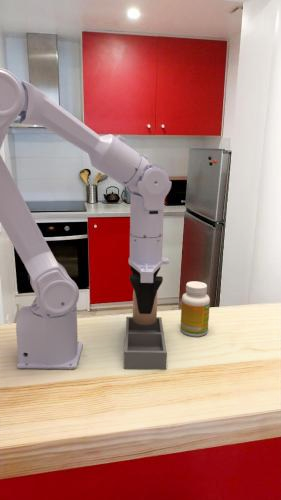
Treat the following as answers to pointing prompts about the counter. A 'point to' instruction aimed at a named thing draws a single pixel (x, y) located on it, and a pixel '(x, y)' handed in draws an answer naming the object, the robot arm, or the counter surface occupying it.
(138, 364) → the carrier
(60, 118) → the robot arm
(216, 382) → the counter surface
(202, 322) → the supplement bottle
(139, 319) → the tan capsule
